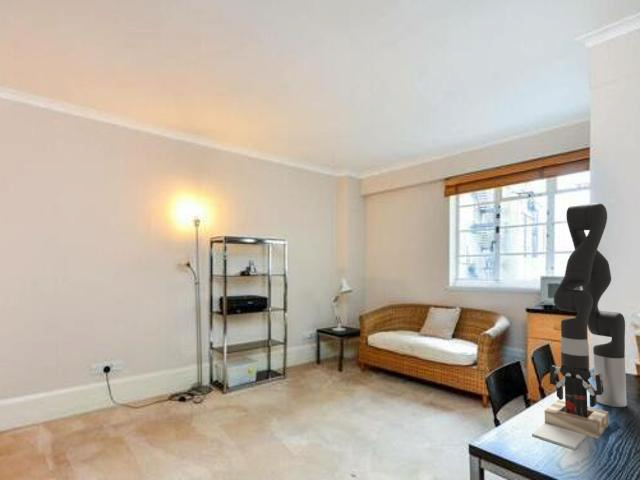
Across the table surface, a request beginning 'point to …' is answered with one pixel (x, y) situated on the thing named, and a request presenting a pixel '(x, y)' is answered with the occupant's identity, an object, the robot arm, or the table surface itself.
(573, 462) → the table surface
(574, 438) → the mat
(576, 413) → the deodorant
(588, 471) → the table surface
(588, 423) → the holder
